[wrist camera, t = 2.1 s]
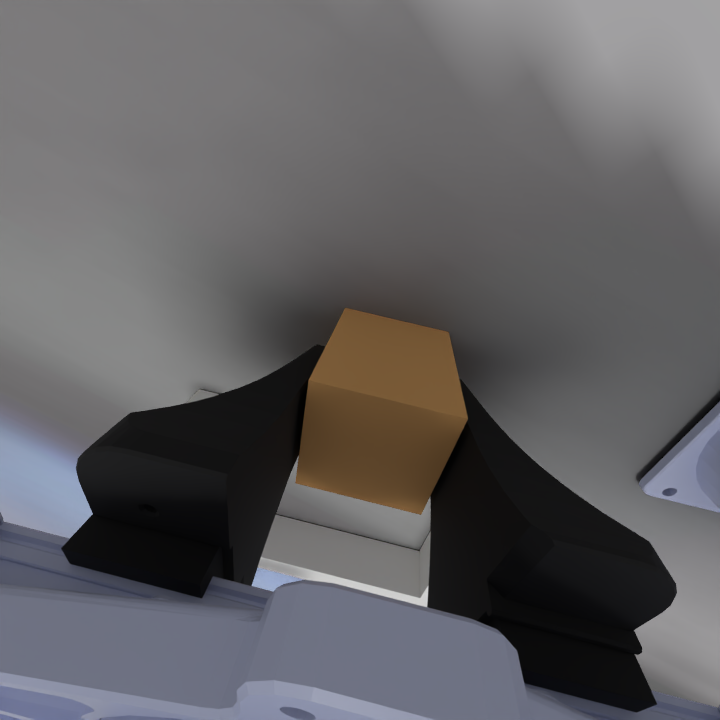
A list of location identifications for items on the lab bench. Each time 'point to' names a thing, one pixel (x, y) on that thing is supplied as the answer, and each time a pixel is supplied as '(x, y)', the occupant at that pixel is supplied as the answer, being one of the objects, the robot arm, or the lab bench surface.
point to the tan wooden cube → (381, 412)
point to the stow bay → (344, 556)
